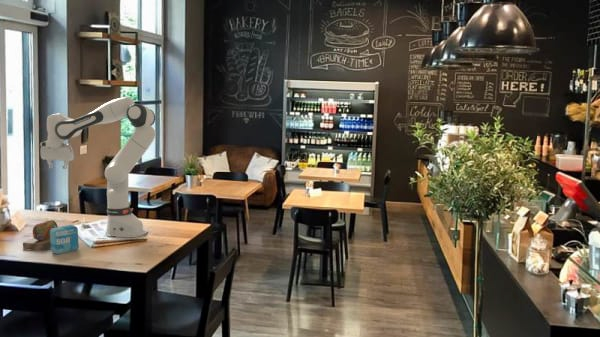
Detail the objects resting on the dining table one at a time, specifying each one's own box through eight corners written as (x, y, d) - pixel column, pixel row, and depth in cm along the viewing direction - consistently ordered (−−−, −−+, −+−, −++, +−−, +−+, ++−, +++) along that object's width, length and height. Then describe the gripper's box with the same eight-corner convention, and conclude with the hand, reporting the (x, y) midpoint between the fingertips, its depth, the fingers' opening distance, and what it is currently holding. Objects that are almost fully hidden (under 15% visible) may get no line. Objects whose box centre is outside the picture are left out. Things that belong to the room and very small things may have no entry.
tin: (37, 242, 297) (35, 225, 296) (32, 241, 298) (30, 225, 297) (58, 234, 311) (57, 218, 310) (53, 234, 312) (52, 218, 311)
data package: (55, 254, 288) (53, 230, 286) (50, 253, 291) (49, 228, 289) (79, 249, 297) (77, 225, 295) (74, 247, 300) (73, 224, 298)
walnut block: (69, 241, 314) (69, 234, 313) (44, 252, 294) (43, 244, 294) (49, 240, 317) (48, 232, 316) (23, 250, 297) (22, 242, 297)
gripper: (75, 143, 329) (77, 168, 331) (46, 141, 336) (48, 166, 338) (67, 144, 323) (69, 170, 325) (37, 143, 330) (39, 168, 332)
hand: (58, 168), depth 332 cm, fingers open, 8 cm apart
